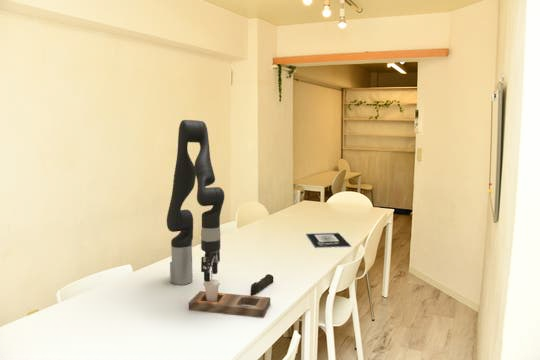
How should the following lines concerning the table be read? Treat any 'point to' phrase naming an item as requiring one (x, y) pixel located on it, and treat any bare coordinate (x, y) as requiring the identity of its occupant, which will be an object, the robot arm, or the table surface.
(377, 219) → the table surface
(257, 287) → the hand tool
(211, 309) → the wooden tray
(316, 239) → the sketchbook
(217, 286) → the smoothie
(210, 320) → the table surface
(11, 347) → the table surface
